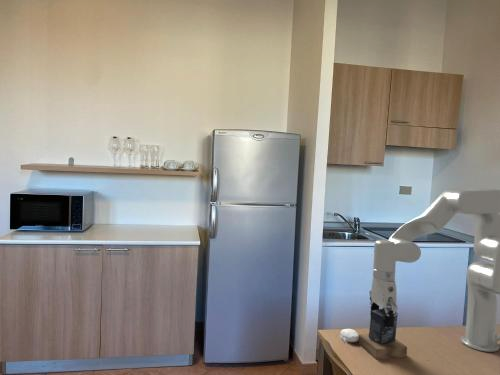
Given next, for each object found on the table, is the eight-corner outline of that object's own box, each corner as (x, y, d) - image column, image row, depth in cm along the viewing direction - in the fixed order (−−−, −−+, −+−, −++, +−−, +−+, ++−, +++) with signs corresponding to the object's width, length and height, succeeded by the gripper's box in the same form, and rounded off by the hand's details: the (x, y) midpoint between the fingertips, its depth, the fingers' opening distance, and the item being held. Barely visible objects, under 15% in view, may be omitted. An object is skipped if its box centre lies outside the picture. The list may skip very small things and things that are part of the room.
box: (380, 345, 133) (382, 316, 133) (368, 338, 138) (370, 310, 137) (395, 341, 137) (398, 312, 136) (383, 334, 142) (385, 307, 141)
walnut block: (386, 342, 145) (387, 332, 144) (406, 358, 133) (407, 346, 133) (358, 345, 142) (358, 334, 142) (375, 360, 130) (376, 349, 130)
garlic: (363, 344, 142) (364, 334, 142) (347, 345, 140) (347, 335, 140) (352, 335, 150) (353, 325, 149) (337, 336, 148) (337, 327, 148)
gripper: (407, 281, 129) (404, 330, 130) (380, 268, 146) (378, 312, 147) (387, 281, 128) (384, 331, 128) (362, 268, 145) (360, 312, 145)
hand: (381, 321), depth 138 cm, fingers open, 9 cm apart
